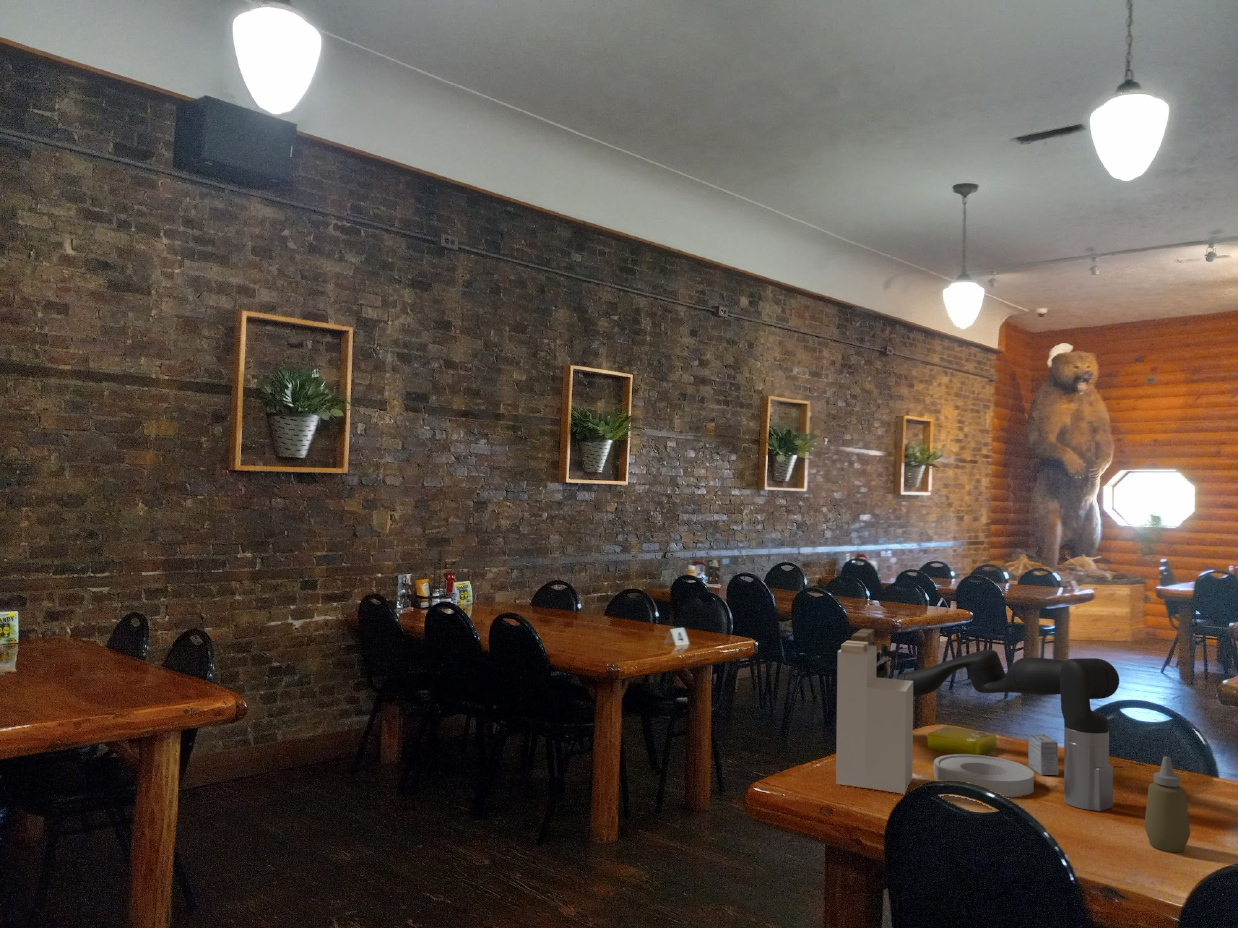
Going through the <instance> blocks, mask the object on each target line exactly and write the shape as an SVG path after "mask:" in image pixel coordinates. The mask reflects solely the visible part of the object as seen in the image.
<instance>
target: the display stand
mask: <svg viewBox="0 0 1238 928" xmlns="http://www.w3.org/2000/svg"><path fill="white" fill-rule="evenodd" d="M877 651H878V650H877V645H873V644H870V645H869V646H868V650H867V651H866V652H865V653H864V654H857V653H845V652H841V648H840V649H838V650H837V659H836V660H837V661H836V662H837V663H836V664H837V665H836V667H837V669H836V670H837V671H836V673H837V674H836V675H837V676H836V677H837V679H836V681H837V682H836V688H837V689H836V743H835V744H836V748H835V749H836V754H835V755H836V758H835V759H836V761H835V785H836V784H842V785H852V786H857V787H865V788H873V789H878V790H885V791H889V792H897V793H901V794H900V795H902V793H903V796H905V795H906V794H905V793H907V791H908V789H909V787H908V785H909V784H910V785H911V782H912V780H913V761H914V760H913V759H914V758H913V756H914V755H913V753H914V751H913V750H914V749H913V746H914V745H913V743H914V740H913V739H914V697H913V681H908V680H898V679H897V678H892V679H887V678H877V677H876V661H877ZM911 779H912V780H911ZM910 781H911V782H910ZM910 785H909V786H910ZM907 788H908V789H907Z"/></svg>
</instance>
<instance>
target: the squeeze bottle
mask: <svg viewBox="0 0 1238 928" xmlns="http://www.w3.org/2000/svg"><path fill="white" fill-rule="evenodd" d="M1173 768H1174V767H1173V765H1172V760H1171V757H1170V756H1166V755H1164V756H1163V757H1162V760H1161V766H1160V768H1159V771H1157V772H1154V773H1153V782H1151V783H1150V784H1148V790H1147V791H1148V792H1147V798H1146V799H1147V800H1146V807H1145V816H1144V826H1143V827H1144V829H1145V830H1144V831H1145V832H1146V836H1147V838H1148V841H1149V844H1150V845H1151V847H1154V848H1155V849H1157V850H1161V851H1165V852H1170V853H1173V852H1174V853H1181V852H1184V851H1185V849H1186V846H1187V844H1188V841H1189V838H1190V836H1191V828H1190V821H1189V817H1190V816H1189V812H1188V811H1189V809H1188V802H1187V792H1186V790H1185V789H1184V788H1183V787H1181V777H1180V776H1179V775H1177V774H1175V773H1174V769H1173Z"/></svg>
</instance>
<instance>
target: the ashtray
mask: <svg viewBox="0 0 1238 928" xmlns="http://www.w3.org/2000/svg"><path fill="white" fill-rule="evenodd" d="M934 777H935V778H936V779H937V780H956V781H961V782H969V783H970V784H974V785H979V786H981V787H985V788H988V789H990V790H992V791H993V792H997V793H1001V795H1004V796H1006V797H1005V798H1017V797H1023V795H1024V796H1028V795H1030V794H1032V793H1034V791H1035V788H1034V785H1035V783H1034V782H1035V778H1036V777H1035V771H1034V770H1033V769H1031V768H1030V767H1029V766H1028V765H1024V764H1022V763H1019V762H1017V761H1013V760H1010V759H1005V758H1001V757H996V756H990V755H988V756H987V755H984V756H983V755H971V754H947V755H941V756H939V757H936V758H935V759H934V760H933V778H934Z"/></svg>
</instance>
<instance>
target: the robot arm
mask: <svg viewBox="0 0 1238 928" xmlns="http://www.w3.org/2000/svg"><path fill="white" fill-rule="evenodd" d="M888 664H889V665H891V667H893V668H897V665H898V654H897V650H895V649H893V650H890V649H889V647H888V645H886V644H885V643H881V648H880V649H879V650H877V661H876V677H877V678H887V679H893V676H892V674H891V673H889V671H890V670H889V669H890V668H889V666H888ZM962 669H965V670H966V671H967V672H966V673H967V674H968V677H969V679H970V682H971V685H972V687H973V688H974V690H975V691H976V692H978V693H981V694H999V693H1015V694H1023V695H1024V694H1025V695H1034V696H1052V695H1054V696H1055V695H1060V709H1061V710H1060V711H1061V715H1062V716H1063V722H1064V723H1063V726H1064V727H1063V729H1064V730H1063V731H1064V733H1063V757H1064V758H1063V763H1064V764H1063V786H1064V787H1063V794H1064V795H1063V800H1064V801H1063V802H1064V803H1066V805H1069V806H1071V807H1074V808H1078V809H1084V810H1089V811H1090V810H1091V811H1096V812H1102V811H1106V810H1109V809H1110V808H1111V809H1112V808H1113V807H1114V765H1112V764H1110V753H1109V752H1110V746H1109V745H1110V722H1109V719H1108V718H1107V717H1105V715H1102V714H1099V713H1097V712H1094V711H1093V710H1092V708H1091V701H1090V700H1101V699H1102V700H1103V699H1106V698H1109V697H1111V696H1113V695H1114V694H1115V693H1116V691H1118V688H1119V687H1120V686H1119V685H1120V676H1119V673H1118V671H1117V669H1116V667H1114V666H1113V664H1111V663H1110V662H1109V661H1107V660H1104V659H1101V658H1096V657H1090V658H1089V657H1085V658H1084V657H1083V658H1082V657H1081V658H1077V657H1076V658H1069V659H1066V660H1061V659H1055V658H1045V657H1043V658H1042V657H1022V658H1018V659H1017V660H1015V662H1013V663H1012V664H1011V666H1010V667H1009V668H1008V670H1007V672H1005V670H1004V667H1003V664H1002V662H1001V658H1000V656H999V654H998V652H997V651H996V650H994V649H983V650H978V651H975V652H971V653H968V654H964V655H961V656H958V657H955V658H953V659H949V660H947V661H944V662H940V663H938V664H935V665H933V666H929V667H924V668H921V669H917V670H912V671H907V672H903V673H900V674H898V675H897V677H896V679H898V680H908V681H913V698H914V697H920V696H925V695H929V694H931V693H933V692H935V691H936V690H938V688H940V687H941V686H942V685H943V684H944V683H945V682H946V680H947V679H948V678H949V677H950V676H951V675H952V674H954V673H955V672H957V671H960V670H962Z"/></svg>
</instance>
